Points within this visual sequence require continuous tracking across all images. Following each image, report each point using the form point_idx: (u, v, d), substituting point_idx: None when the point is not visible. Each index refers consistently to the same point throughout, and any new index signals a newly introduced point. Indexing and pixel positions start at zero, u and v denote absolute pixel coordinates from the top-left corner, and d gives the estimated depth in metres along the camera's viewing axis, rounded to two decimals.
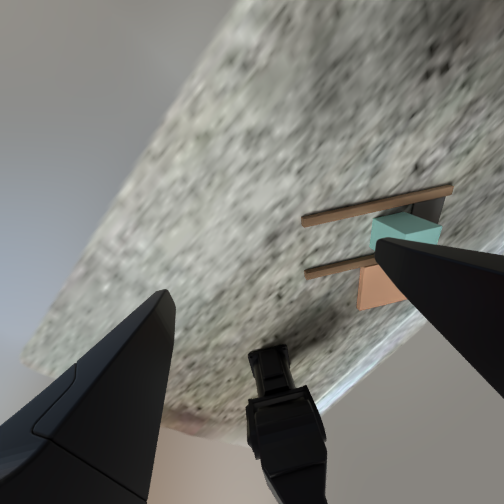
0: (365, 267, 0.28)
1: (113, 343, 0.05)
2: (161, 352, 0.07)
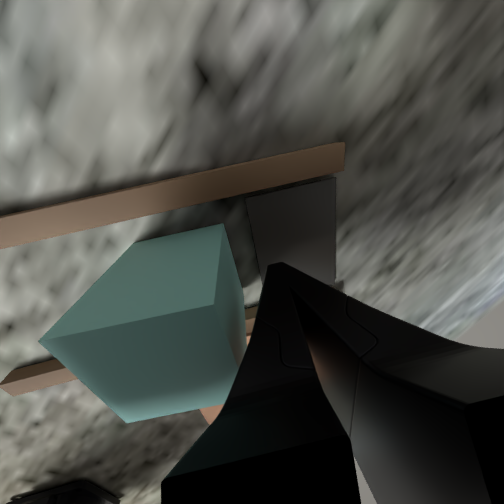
0: None
1: (280, 302, 0.06)
2: None
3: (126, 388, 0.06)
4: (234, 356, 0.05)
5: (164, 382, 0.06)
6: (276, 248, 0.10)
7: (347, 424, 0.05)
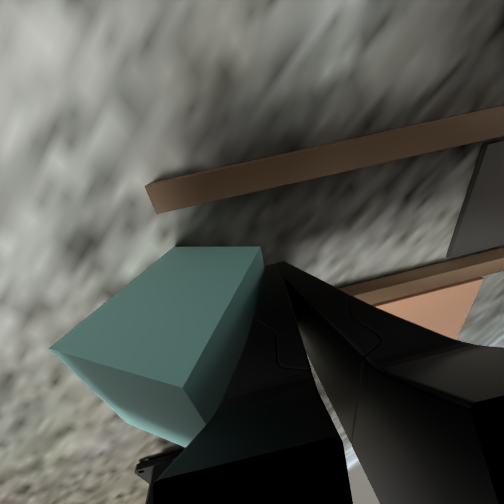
0: None
1: (277, 303, 0.06)
2: None
3: (120, 404, 0.06)
4: None
5: (149, 416, 0.05)
6: (486, 200, 0.10)
7: (350, 423, 0.05)
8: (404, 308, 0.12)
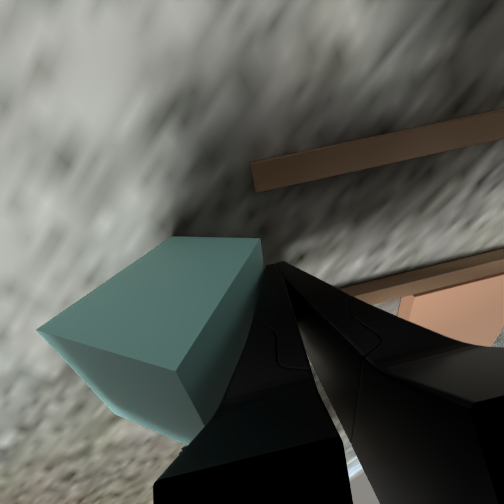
0: (416, 295, 0.12)
1: (277, 303, 0.06)
2: None
3: (108, 392, 0.06)
4: (204, 422, 0.04)
5: (138, 405, 0.05)
6: None
7: (350, 422, 0.05)
8: (462, 294, 0.12)
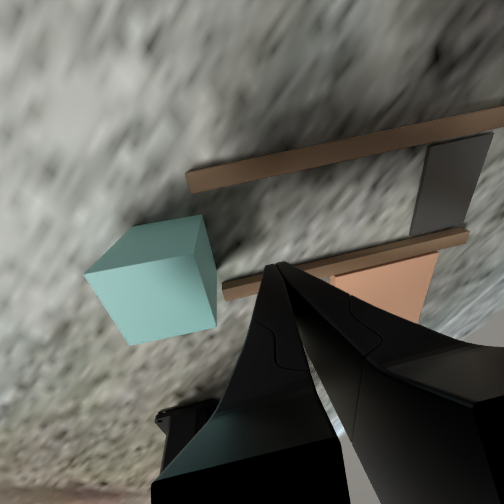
0: (337, 276, 0.15)
1: (276, 303, 0.06)
2: None
3: (133, 314, 0.09)
4: (205, 292, 0.09)
5: (160, 310, 0.09)
6: (435, 189, 0.13)
7: (350, 423, 0.05)
8: (377, 276, 0.15)
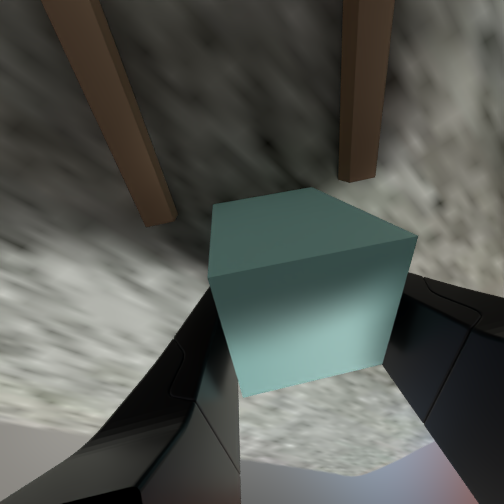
0: None
1: (203, 321, 0.05)
2: None
3: (325, 358, 0.05)
4: (311, 256, 0.04)
5: (329, 329, 0.05)
6: None
7: (428, 401, 0.05)
8: None
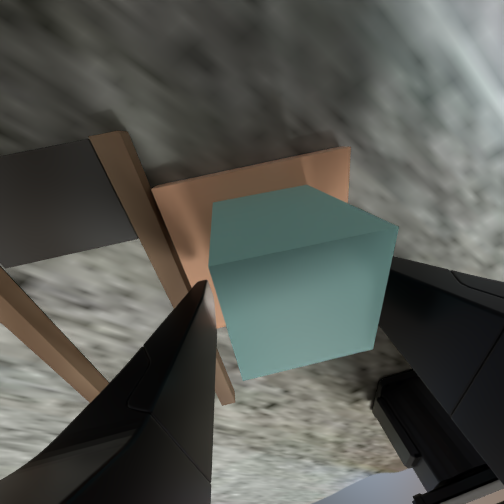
0: None
1: (175, 328, 0.05)
2: (210, 340, 0.07)
3: (318, 343, 0.06)
4: (301, 246, 0.04)
5: (320, 315, 0.05)
6: (53, 234, 0.09)
7: (456, 393, 0.05)
8: None
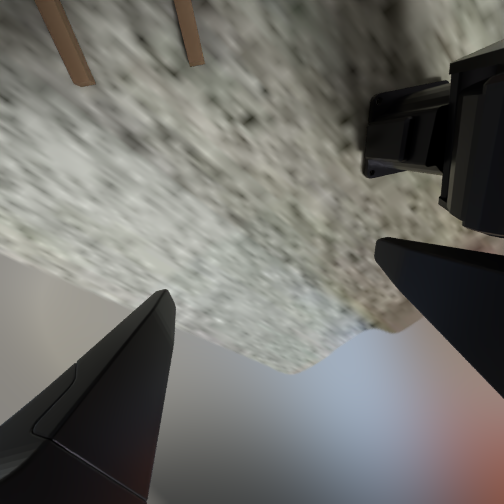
0: None
1: (113, 343, 0.05)
2: (161, 352, 0.07)
3: None
4: None
5: None
6: None
7: None
8: None
